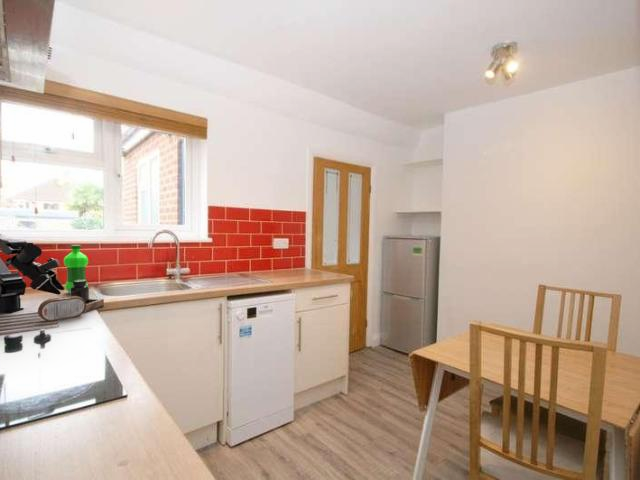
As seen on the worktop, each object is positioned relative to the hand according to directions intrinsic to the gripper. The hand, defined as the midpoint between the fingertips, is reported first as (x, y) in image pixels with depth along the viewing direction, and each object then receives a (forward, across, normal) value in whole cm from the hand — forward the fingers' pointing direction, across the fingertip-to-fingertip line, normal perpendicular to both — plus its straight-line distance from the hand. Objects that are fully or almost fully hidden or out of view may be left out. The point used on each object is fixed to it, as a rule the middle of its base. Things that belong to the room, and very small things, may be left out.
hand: (62, 291), depth 141 cm
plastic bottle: (+7, +38, +5) cm, 39 cm away
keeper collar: (+10, 0, +1) cm, 10 cm away
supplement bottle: (+10, 0, +1) cm, 10 cm away
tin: (+8, -14, +4) cm, 17 cm away
